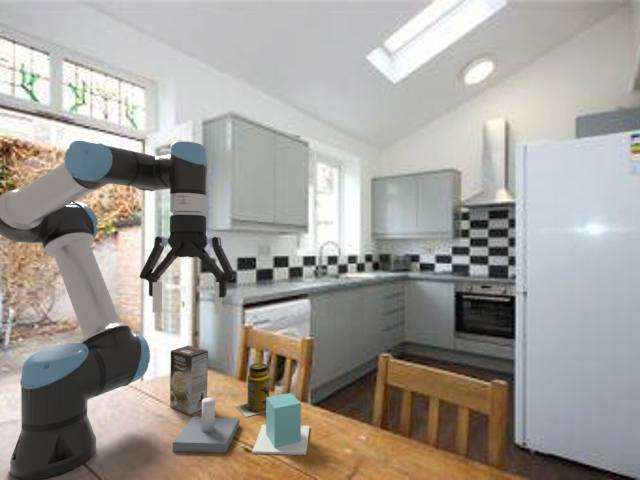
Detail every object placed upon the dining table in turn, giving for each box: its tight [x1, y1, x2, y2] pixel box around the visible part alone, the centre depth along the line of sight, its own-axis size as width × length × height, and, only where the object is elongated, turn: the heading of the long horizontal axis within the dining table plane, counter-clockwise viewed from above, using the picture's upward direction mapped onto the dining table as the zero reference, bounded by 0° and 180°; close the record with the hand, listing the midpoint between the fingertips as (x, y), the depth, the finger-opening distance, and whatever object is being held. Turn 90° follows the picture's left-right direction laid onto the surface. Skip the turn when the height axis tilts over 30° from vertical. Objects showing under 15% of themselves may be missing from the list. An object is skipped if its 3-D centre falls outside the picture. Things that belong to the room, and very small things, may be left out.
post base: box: [172, 397, 240, 454], centre depth 90 cm, size 12×12×9 cm
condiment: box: [236, 362, 270, 418], centre depth 106 cm, size 7×8×12 cm
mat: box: [251, 423, 311, 456], centre depth 89 cm, size 12×12×1 cm
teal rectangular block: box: [265, 392, 302, 448], centre depth 89 cm, size 6×6×9 cm
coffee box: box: [169, 344, 209, 415], centre depth 106 cm, size 9×6×16 cm
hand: (187, 312), depth 82 cm, fingers open, 13 cm apart
